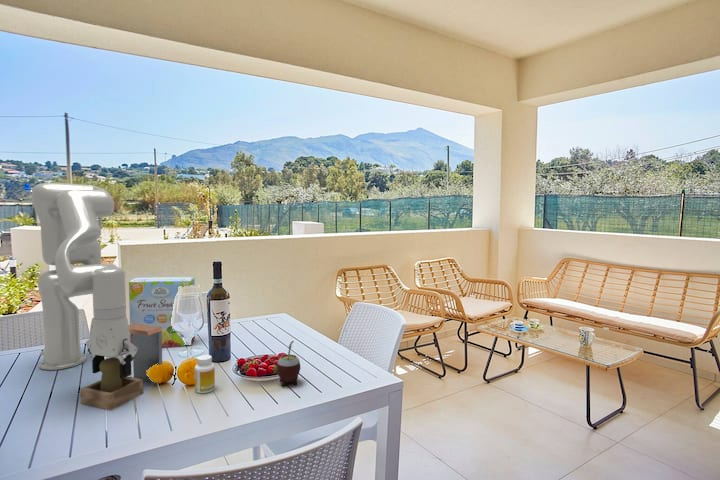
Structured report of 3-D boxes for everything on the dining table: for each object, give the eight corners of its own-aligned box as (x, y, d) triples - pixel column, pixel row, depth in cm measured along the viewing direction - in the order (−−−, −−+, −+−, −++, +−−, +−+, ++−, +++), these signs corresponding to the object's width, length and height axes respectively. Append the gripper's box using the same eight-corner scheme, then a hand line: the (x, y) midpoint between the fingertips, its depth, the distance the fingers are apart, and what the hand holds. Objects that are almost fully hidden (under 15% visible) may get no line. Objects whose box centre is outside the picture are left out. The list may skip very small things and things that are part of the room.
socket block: (80, 403, 108) (80, 389, 107) (115, 387, 117) (114, 374, 117) (110, 410, 104) (109, 395, 104) (143, 393, 114) (142, 379, 114)
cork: (112, 404, 108) (111, 364, 107) (93, 401, 109) (91, 362, 108) (129, 393, 114) (128, 356, 113) (110, 391, 115) (109, 354, 114)
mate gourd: (286, 376, 127) (286, 330, 126) (306, 381, 124) (307, 333, 122) (270, 385, 120) (270, 336, 119) (292, 391, 117) (292, 341, 116)
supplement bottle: (218, 387, 119) (218, 355, 118) (206, 395, 114) (205, 361, 113) (203, 384, 121) (203, 352, 120) (190, 392, 115) (190, 359, 115)
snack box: (129, 350, 147) (126, 281, 145) (136, 342, 156) (134, 277, 154) (192, 346, 152) (191, 279, 150) (196, 339, 161) (195, 275, 159)
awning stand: (122, 384, 120) (120, 327, 118) (137, 377, 124) (135, 323, 123) (149, 389, 117) (147, 331, 115) (162, 382, 121) (161, 326, 120)
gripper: (73, 313, 108) (75, 374, 110) (122, 319, 103) (124, 384, 104) (98, 306, 115) (100, 364, 117) (146, 312, 110) (147, 373, 111)
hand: (112, 374), depth 110 cm, fingers open, 9 cm apart
